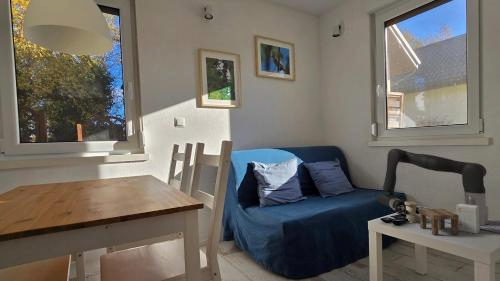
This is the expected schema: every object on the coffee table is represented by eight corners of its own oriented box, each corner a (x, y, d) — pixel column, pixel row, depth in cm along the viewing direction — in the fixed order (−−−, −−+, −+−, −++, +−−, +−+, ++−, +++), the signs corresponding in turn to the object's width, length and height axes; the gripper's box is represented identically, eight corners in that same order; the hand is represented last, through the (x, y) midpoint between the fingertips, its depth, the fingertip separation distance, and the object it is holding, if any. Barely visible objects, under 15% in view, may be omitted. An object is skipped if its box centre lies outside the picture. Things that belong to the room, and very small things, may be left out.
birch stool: (413, 220, 157) (412, 201, 157) (419, 223, 151) (418, 203, 151) (403, 220, 157) (402, 201, 157) (408, 223, 151) (408, 203, 151)
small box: (479, 231, 136) (479, 205, 136) (476, 234, 132) (476, 208, 132) (460, 227, 142) (459, 203, 142) (456, 230, 138) (456, 205, 138)
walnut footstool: (442, 227, 144) (441, 208, 143) (459, 235, 132) (458, 215, 131) (419, 227, 144) (419, 209, 144) (434, 235, 132) (433, 215, 132)
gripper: (386, 199, 169) (400, 206, 152) (409, 199, 168) (426, 205, 151) (386, 211, 169) (400, 219, 152) (409, 210, 168) (426, 219, 151)
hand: (413, 212), depth 151 cm, fingers open, 5 cm apart
